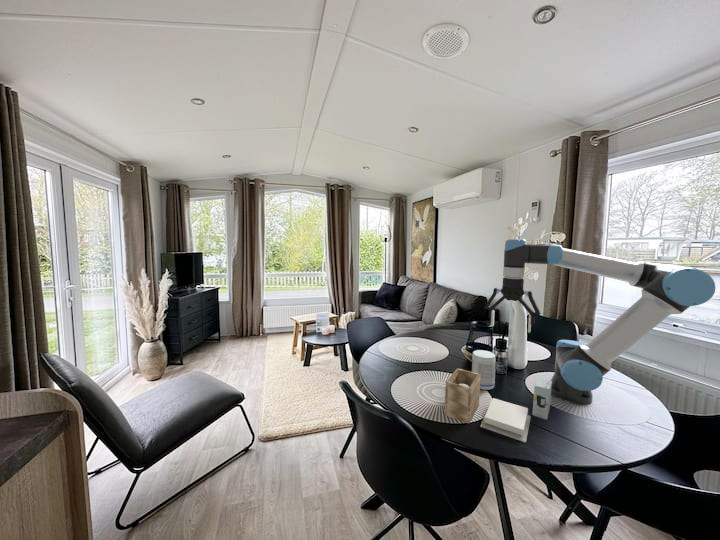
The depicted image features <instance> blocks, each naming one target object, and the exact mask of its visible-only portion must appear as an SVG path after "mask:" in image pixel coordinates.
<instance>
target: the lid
mask: <svg viewBox="0 0 720 540" xmlns="http://www.w3.org/2000/svg"><path fill="white" fill-rule="evenodd" d="M489 405H490V406H488V408H487V410H486V412H487V413H486V412H485V414H486V415H484V417H483V419H484V422H485V423H488V424H490V425H493V426H496V427H499V428H501V429H504V430H507V431H510V432H513V433H517V434H520V435H523V434H524V429H525V424H526V420H527V415H529V408H528V407H525V406H522V405H518V404H514V403H511V402H508V401H504V400H503V399H502V400H501V399H499V398H494V397H493V398H492V399H491V402H490V404H489Z"/></svg>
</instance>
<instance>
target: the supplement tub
mask: <svg viewBox="0 0 720 540" xmlns="http://www.w3.org/2000/svg"><path fill="white" fill-rule="evenodd" d="M471 358H472V359H471V372H474V373H478V374H480V390H486V391H488V390H493V389H494V388H495V385H496V384H495V383H496V381H495V379H496V354H495V353H493V352H491V351H489V350H483V349H475V350H474V351H472V357H471Z"/></svg>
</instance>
